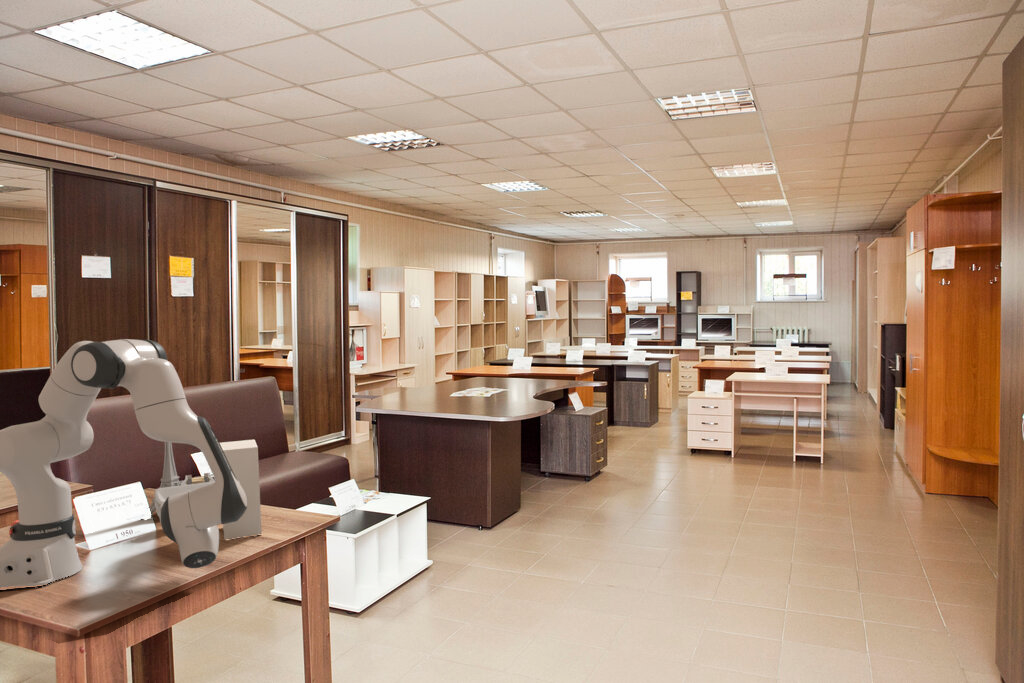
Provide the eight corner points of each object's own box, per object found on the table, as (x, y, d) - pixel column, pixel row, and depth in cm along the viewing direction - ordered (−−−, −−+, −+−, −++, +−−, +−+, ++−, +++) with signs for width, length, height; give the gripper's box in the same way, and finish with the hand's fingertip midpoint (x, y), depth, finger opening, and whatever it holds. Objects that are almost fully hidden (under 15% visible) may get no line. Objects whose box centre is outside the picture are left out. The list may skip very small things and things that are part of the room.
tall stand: (224, 540, 194) (220, 450, 193) (223, 527, 207) (219, 442, 206) (261, 535, 198) (257, 447, 197) (258, 522, 211) (254, 439, 210)
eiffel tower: (139, 520, 217) (134, 427, 216) (167, 508, 230) (163, 420, 229) (176, 521, 215) (171, 427, 213) (202, 509, 228) (198, 420, 227)
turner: (180, 485, 195) (179, 475, 195) (214, 480, 199) (213, 472, 199) (179, 493, 175) (178, 483, 175) (217, 488, 179) (217, 478, 179)
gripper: (242, 497, 173) (239, 462, 184) (152, 509, 165) (154, 471, 175) (243, 515, 176) (240, 479, 187) (154, 528, 168) (156, 489, 178)
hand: (197, 475), depth 181 cm, fingers closed on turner, 3 cm apart
